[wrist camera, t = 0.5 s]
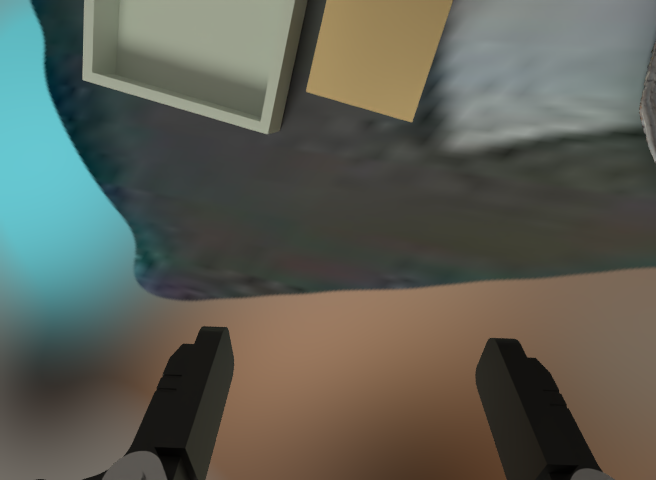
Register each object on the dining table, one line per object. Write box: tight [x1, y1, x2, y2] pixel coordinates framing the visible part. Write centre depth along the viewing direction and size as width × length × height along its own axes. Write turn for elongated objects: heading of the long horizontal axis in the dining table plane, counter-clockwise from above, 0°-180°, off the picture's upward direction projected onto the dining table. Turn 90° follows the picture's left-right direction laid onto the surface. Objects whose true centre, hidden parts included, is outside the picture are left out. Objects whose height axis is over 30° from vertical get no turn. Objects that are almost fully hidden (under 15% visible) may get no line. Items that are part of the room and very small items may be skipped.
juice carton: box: [306, 0, 453, 122], centre depth 25 cm, size 6×6×15 cm
